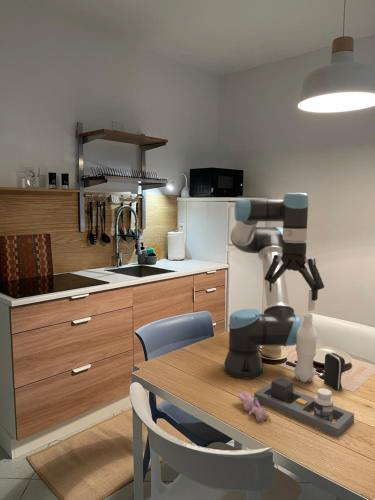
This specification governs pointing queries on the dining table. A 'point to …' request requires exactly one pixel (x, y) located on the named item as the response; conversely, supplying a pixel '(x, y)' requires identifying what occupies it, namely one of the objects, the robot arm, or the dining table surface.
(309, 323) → the water bottle
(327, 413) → the pill bottle
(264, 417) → the rabbit figure
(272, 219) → the robot arm
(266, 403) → the gray rectangular open frame
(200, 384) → the dining table surface
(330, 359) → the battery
